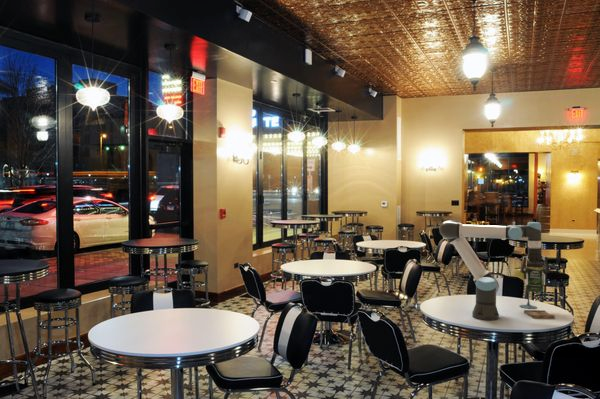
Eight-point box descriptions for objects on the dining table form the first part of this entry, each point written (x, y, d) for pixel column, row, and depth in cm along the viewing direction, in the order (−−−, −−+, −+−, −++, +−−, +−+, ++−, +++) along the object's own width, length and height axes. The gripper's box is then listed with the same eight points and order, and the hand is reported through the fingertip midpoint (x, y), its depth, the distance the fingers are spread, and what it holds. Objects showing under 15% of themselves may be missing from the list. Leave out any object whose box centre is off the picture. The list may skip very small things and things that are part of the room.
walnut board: (532, 318, 307) (532, 315, 307) (523, 312, 320) (524, 310, 320) (554, 318, 307) (554, 315, 307) (544, 313, 320) (544, 310, 320)
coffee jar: (525, 291, 306) (525, 261, 306) (526, 289, 313) (526, 259, 313) (543, 293, 302) (543, 261, 301) (544, 290, 308) (544, 260, 308)
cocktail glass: (526, 310, 325) (527, 272, 325) (507, 304, 342) (508, 267, 342) (549, 309, 330) (550, 271, 329) (530, 303, 347) (531, 267, 347)
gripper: (518, 248, 305) (518, 285, 305) (556, 248, 303) (556, 285, 303) (513, 247, 312) (514, 283, 312) (551, 246, 310) (551, 283, 310)
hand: (535, 284), depth 307 cm, fingers closed on coffee jar, 9 cm apart
